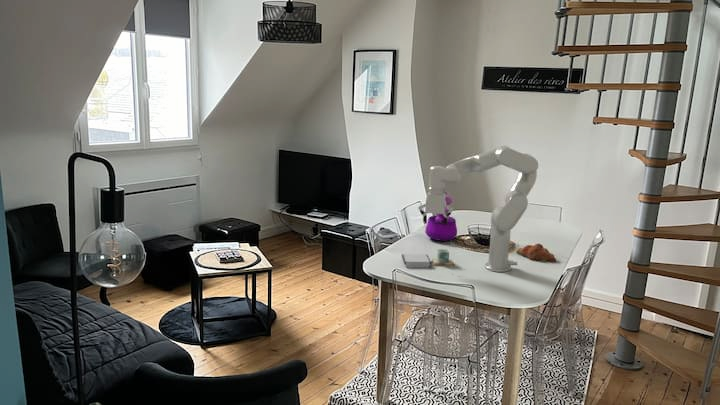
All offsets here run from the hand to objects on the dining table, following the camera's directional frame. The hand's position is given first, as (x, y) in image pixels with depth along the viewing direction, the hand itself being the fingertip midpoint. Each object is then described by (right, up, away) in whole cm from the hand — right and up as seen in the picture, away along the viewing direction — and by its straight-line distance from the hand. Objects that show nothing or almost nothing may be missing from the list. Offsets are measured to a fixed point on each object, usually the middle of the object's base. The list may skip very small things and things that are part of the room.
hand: (434, 224), depth 265 cm
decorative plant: (+11, -11, +49) cm, 52 cm away
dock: (-9, -21, +7) cm, 23 cm away
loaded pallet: (+5, -21, +7) cm, 23 cm away
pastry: (+57, -19, +20) cm, 64 cm away
